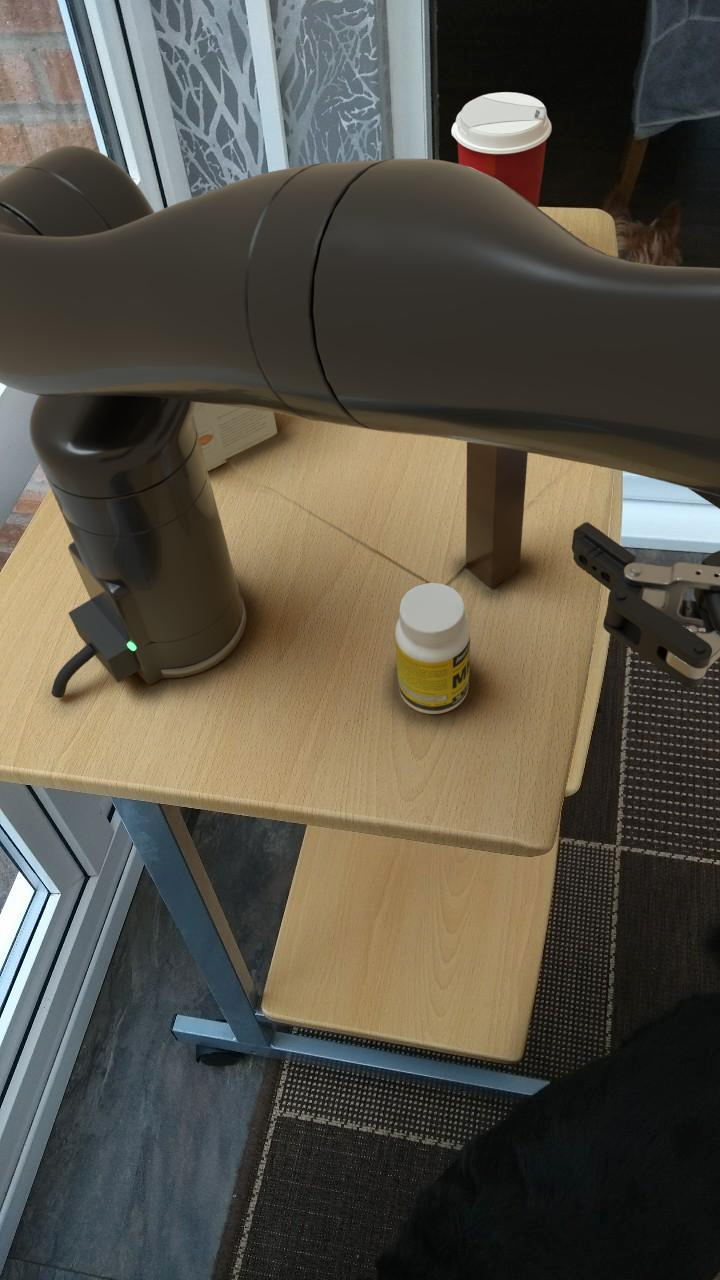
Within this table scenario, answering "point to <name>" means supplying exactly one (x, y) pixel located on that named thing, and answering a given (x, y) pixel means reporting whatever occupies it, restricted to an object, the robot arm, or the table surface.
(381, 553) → the table surface
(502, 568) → the stick
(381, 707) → the table surface
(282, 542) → the table surface
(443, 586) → the supplement bottle
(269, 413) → the small box
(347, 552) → the table surface
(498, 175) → the coffee cup
